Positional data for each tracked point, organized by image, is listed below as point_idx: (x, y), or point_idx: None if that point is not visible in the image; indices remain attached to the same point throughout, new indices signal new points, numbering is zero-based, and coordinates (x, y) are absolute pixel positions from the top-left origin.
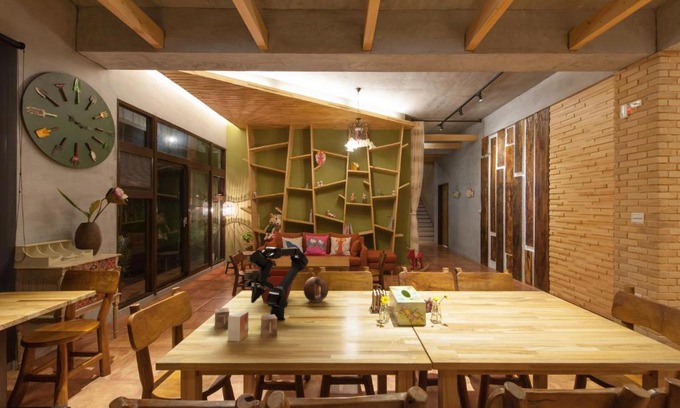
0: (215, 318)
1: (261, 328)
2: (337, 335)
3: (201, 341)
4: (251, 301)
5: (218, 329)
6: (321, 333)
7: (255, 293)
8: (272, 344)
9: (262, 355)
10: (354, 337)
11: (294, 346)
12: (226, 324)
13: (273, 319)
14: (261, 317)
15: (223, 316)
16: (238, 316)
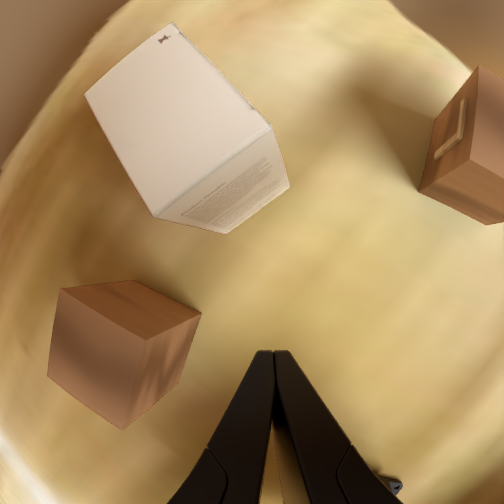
0: (462, 87)
1: (168, 310)
2: (42, 474)
3: (306, 19)
4: (270, 356)
5: (432, 135)
6: (69, 470)
7: (187, 488)
8: (59, 272)
9: (24, 187)
10: (22, 477)
11: (17, 324)
12: (432, 171)
13: (52, 353)
14: (137, 330)
15: (459, 131)
16: (98, 85)
